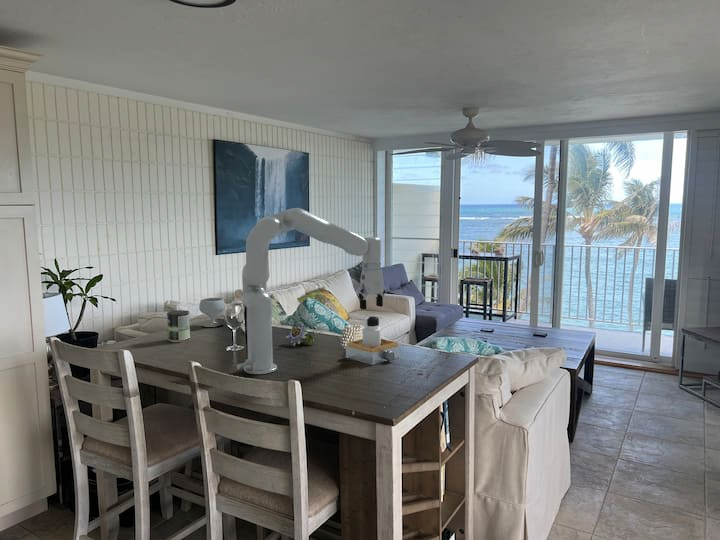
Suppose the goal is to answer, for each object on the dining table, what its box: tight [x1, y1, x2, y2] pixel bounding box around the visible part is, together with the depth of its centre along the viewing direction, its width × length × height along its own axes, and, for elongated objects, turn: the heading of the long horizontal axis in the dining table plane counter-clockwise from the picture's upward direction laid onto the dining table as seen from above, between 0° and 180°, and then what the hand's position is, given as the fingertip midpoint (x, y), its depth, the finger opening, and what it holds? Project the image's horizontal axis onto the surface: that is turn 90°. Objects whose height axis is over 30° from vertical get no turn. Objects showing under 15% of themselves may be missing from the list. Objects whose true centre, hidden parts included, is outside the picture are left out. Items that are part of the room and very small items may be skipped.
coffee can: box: [166, 309, 191, 340], centre depth 249 cm, size 10×10×14 cm
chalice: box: [198, 297, 226, 324], centre depth 282 cm, size 14×14×15 cm
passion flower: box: [285, 322, 316, 347], centre depth 239 cm, size 11×11×12 cm
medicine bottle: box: [362, 316, 382, 347], centre depth 214 cm, size 7×7×12 cm
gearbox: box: [345, 338, 400, 366], centre depth 214 cm, size 16×19×6 cm
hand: (371, 307), depth 213 cm, fingers open, 9 cm apart
